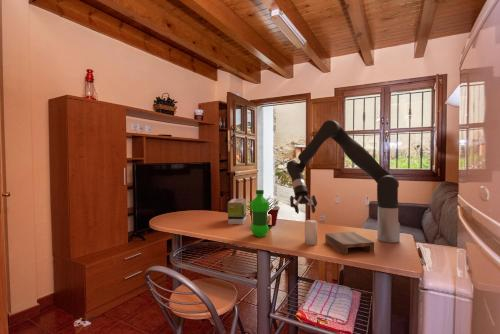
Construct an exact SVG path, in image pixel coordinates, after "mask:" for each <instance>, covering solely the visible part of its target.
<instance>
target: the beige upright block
mask: <svg viewBox="0 0 500 334" xmlns="http://www.w3.org/2000/svg"><path fill="white" fill-rule="evenodd" d="M304 244H305V245H307V246H317V244H318V220H316V219H305V220H304Z"/></svg>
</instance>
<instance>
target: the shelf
mask: <svg viewBox="0 0 500 334" xmlns="http://www.w3.org/2000/svg"><path fill="white" fill-rule="evenodd" d="M324 237H325V244H327V245H328V246H330V247H331V248H332V249H334V250H336V251H337V252H339V253H341V254H342V255H344V256H345V255H348V254H349V248H361V249H363V250H365V251H366V252H368V253H375V242H374V241H373V240H370V239H368V238H367V237H364V236H362V235H360V234H358V233H356V232H354V231H345V232H343V231H342V232H330V233H329V232H328V233H325V235H324Z"/></svg>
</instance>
